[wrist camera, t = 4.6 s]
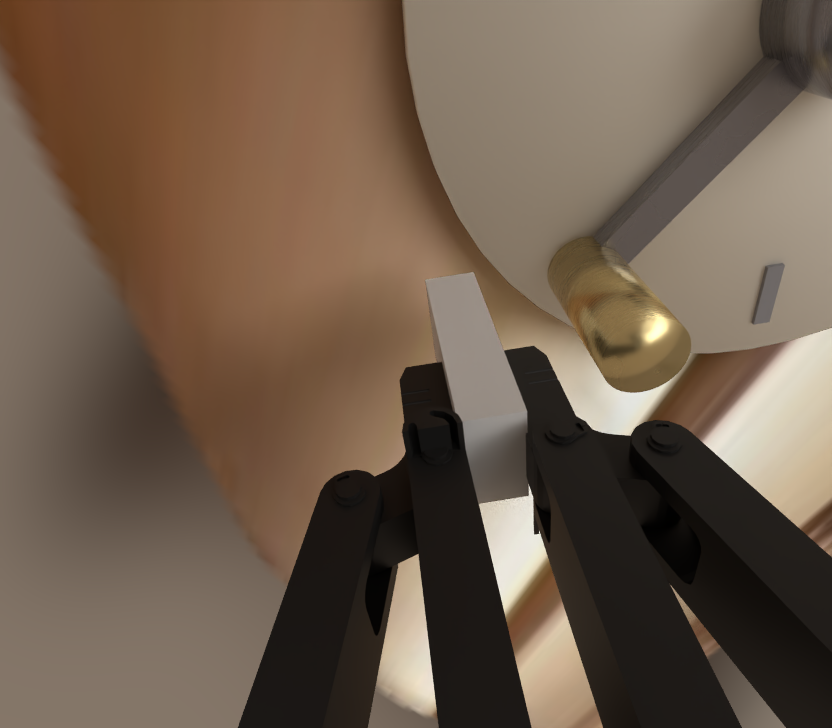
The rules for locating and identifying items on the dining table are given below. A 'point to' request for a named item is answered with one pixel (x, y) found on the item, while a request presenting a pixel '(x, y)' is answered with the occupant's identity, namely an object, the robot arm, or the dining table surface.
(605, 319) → the crank handle
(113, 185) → the dining table surface
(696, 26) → the dial board
